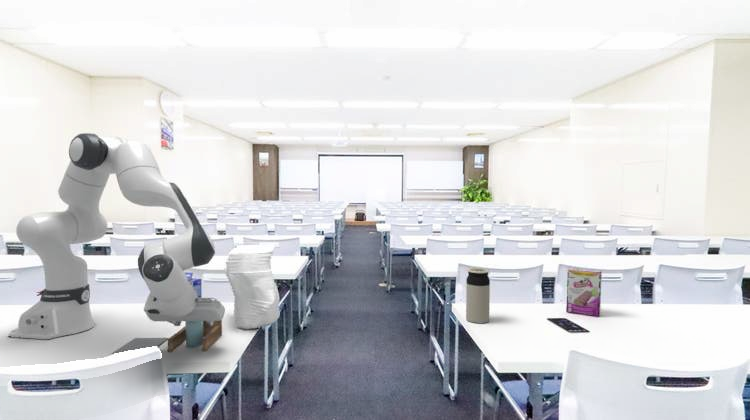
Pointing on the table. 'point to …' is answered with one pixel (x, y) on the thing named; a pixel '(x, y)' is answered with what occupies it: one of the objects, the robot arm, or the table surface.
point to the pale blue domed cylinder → (194, 333)
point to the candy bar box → (584, 292)
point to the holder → (210, 338)
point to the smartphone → (568, 325)
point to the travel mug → (477, 295)
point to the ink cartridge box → (195, 284)
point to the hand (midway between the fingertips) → (194, 323)
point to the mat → (141, 344)
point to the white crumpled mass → (253, 286)
